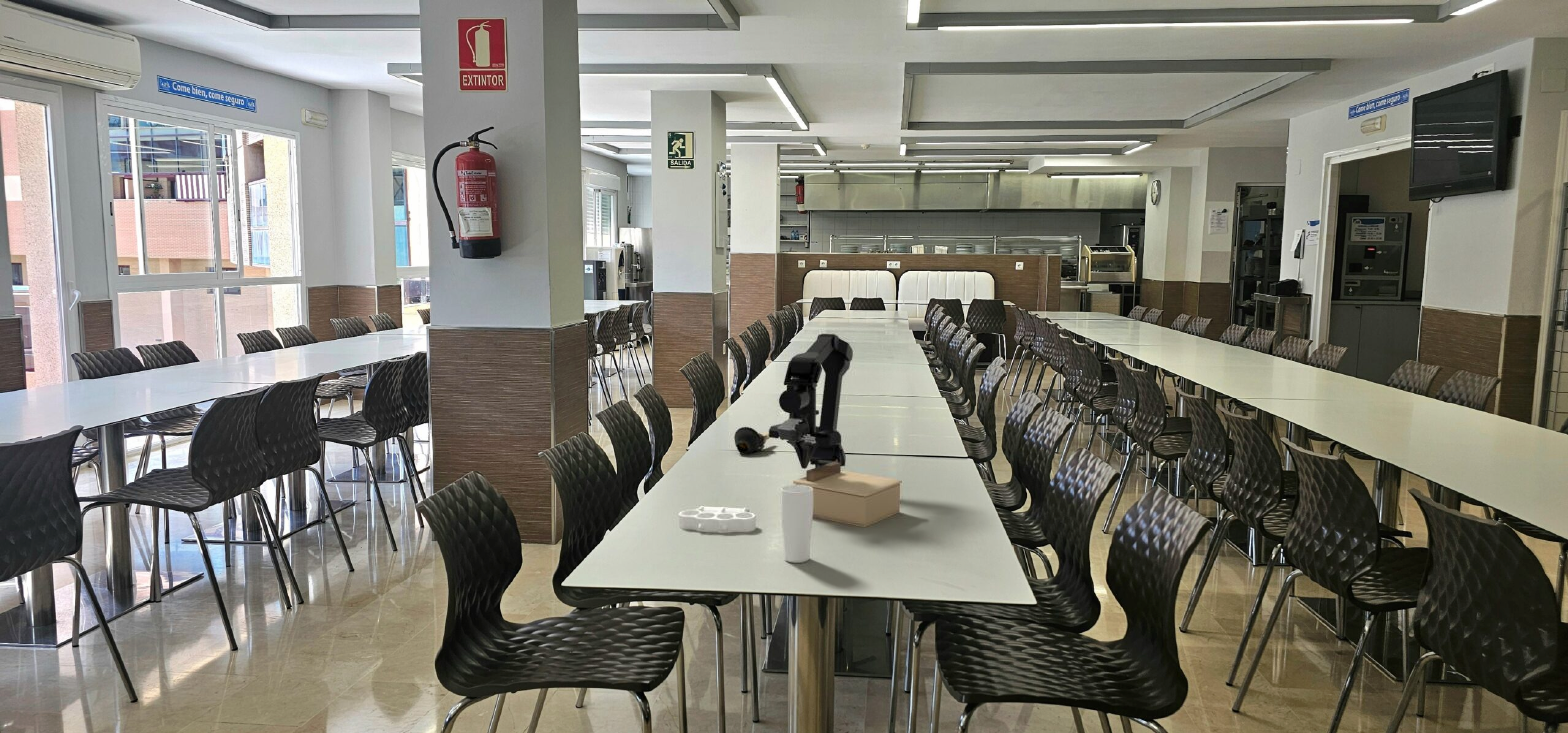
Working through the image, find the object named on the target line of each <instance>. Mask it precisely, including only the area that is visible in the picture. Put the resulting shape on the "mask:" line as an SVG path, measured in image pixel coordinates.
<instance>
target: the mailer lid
mask: <svg viewBox="0 0 1568 733" xmlns="http://www.w3.org/2000/svg"><path fill="white" fill-rule="evenodd" d="M841 467H842V466H841V463H838V462H832V463H829V464H826V465H823V466H819V467H816V468H815V467H814V468H811V469H807V470H806V475H805V477H801V478H798V479H796V480H793V481H792V482H793V483H792V485H795V484H799V485H806V486H810V487H815V488H820V489H826V490H831V491H837V492H842V493H847V494H853V495H858V496H864V497H867V496H869V495H872V494H874V493H877V492H880V491H882V490H885V489H887V488H890V487H892V486H895V485H898V484H900V485H901V484H902V482H903V480H901V479H896V478H888V477H884V476H879V475H878V476H877V475H871V474H865V473H859V472H855V471H854V472H853V471H848V470H841Z"/></svg>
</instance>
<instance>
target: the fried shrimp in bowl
mask: <svg viewBox="0 0 1568 733" xmlns="http://www.w3.org/2000/svg"><path fill="white" fill-rule="evenodd" d="M769 439H771V437H769V433H767V434H765V435H763V434H762V433H760V432H758V431H757V430H756V429H754V428H752V427H749V426H744V427H743V426H742V427H741V428H738V429H736V431H735V433H734V444H735V447H736V449H737V451H738V452H739V453H741V454H743V455H744V454H750V453H753V452H755V451H756V452H759V451H761V450H763V449H764V448H765V444H766V443H767V440H769Z"/></svg>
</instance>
